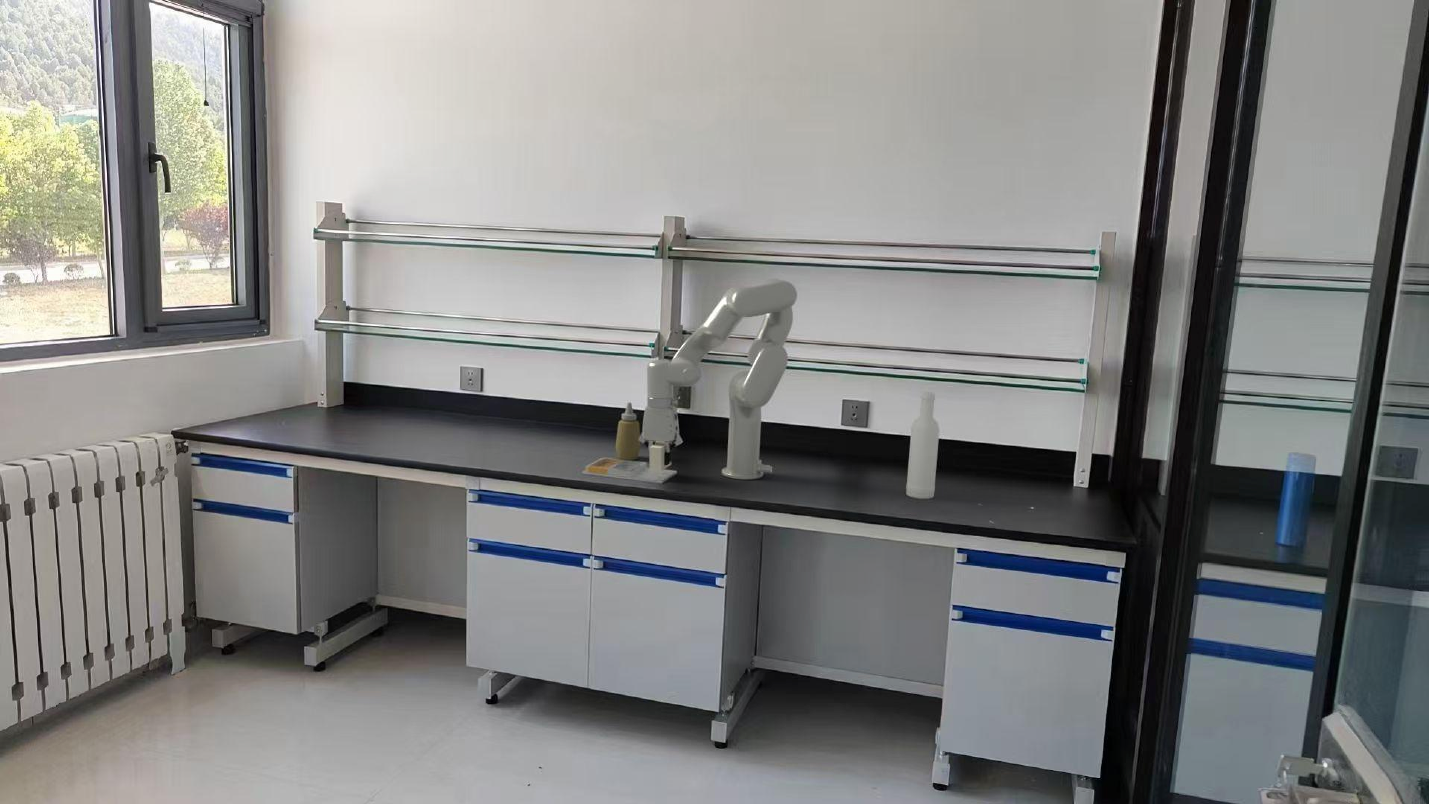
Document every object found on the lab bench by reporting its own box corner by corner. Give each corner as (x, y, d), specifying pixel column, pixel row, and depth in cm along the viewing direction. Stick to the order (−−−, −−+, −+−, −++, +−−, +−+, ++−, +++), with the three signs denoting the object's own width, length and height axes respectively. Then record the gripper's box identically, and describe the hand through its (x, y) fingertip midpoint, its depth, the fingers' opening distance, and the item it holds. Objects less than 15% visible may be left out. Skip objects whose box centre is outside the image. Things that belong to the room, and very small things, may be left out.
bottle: (916, 500, 270) (924, 395, 265) (900, 492, 277) (908, 390, 272) (939, 498, 273) (948, 394, 268) (923, 491, 280) (931, 390, 275)
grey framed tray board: (676, 473, 288) (676, 465, 288) (661, 483, 276) (662, 475, 275) (600, 464, 295) (600, 456, 295) (582, 473, 283) (582, 465, 282)
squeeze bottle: (636, 462, 300) (638, 405, 297) (611, 460, 301) (613, 403, 298) (643, 456, 308) (645, 401, 305) (619, 454, 309) (620, 399, 306)
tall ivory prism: (671, 464, 286) (671, 441, 285) (660, 471, 278) (660, 448, 277) (660, 463, 287) (660, 440, 286) (649, 470, 279) (649, 447, 278)
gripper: (691, 402, 280) (691, 463, 284) (638, 399, 285) (639, 458, 288) (682, 406, 273) (682, 469, 277) (629, 403, 278) (629, 464, 281)
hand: (660, 463), depth 282 cm, fingers closed on tall ivory prism, 3 cm apart
